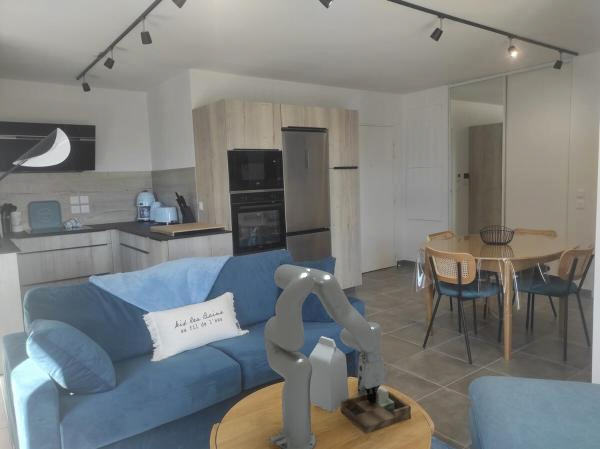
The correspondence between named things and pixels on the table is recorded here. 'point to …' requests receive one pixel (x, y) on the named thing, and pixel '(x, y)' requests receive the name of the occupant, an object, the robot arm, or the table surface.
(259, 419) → the table surface
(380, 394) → the block
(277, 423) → the table surface
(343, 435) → the table surface
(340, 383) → the milk
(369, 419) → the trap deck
